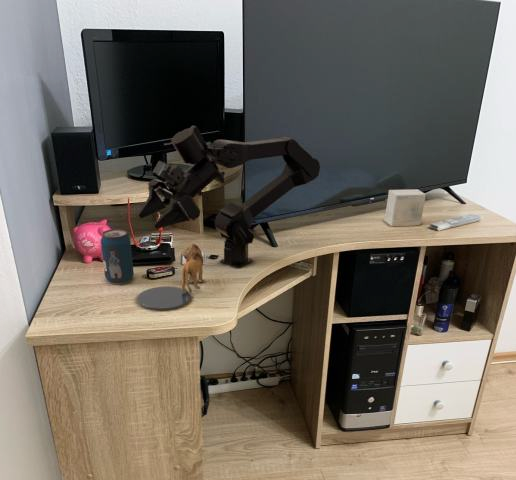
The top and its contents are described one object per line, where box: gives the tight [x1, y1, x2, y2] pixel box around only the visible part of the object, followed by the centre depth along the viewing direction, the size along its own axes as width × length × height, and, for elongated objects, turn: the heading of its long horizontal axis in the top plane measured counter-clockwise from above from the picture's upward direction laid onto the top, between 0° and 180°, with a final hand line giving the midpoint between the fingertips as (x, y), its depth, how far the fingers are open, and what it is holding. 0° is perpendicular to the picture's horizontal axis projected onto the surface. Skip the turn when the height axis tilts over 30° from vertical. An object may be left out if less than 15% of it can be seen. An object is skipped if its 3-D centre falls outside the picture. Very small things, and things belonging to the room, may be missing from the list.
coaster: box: [137, 285, 191, 312], centre depth 125 cm, size 12×12×1 cm
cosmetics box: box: [383, 188, 427, 227], centre depth 177 cm, size 10×6×10 cm, turn 101°
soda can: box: [100, 228, 135, 285], centre depth 131 cm, size 7×7×12 cm
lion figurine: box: [180, 243, 205, 294], centre depth 129 cm, size 15×5×9 cm, turn 4°
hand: (146, 221), depth 127 cm, fingers open, 9 cm apart
